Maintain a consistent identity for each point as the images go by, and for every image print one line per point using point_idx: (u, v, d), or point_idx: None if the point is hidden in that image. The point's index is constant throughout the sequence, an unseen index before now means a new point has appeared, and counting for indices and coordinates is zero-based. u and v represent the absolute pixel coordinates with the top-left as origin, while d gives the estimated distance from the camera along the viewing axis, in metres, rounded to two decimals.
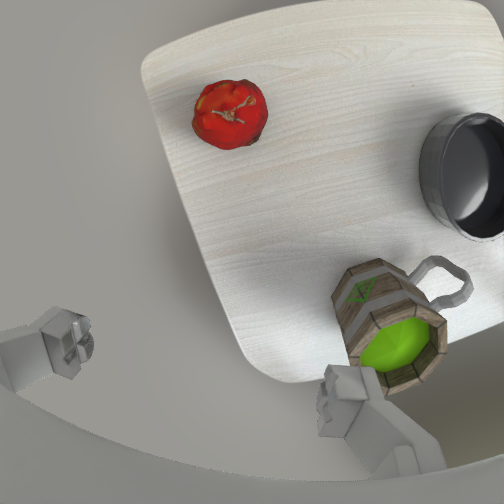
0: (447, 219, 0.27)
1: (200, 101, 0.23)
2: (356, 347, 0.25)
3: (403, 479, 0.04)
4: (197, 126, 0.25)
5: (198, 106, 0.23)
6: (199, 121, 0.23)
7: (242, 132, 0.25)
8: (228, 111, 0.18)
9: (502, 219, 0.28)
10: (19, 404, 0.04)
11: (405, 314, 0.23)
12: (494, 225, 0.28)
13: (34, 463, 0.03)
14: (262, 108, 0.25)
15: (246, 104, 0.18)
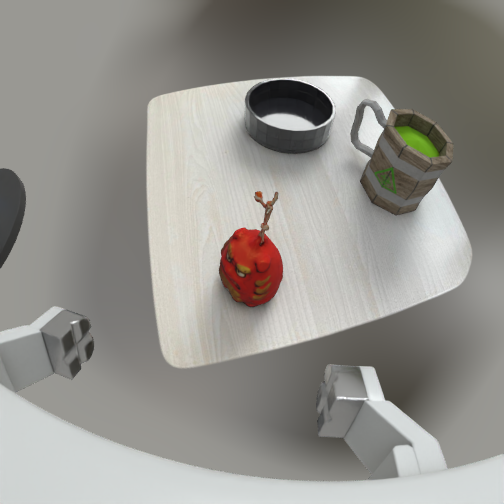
0: (324, 127, 0.42)
1: (242, 268, 0.29)
2: (424, 158, 0.31)
3: (403, 479, 0.04)
4: (263, 280, 0.30)
5: (247, 269, 0.29)
6: (262, 267, 0.29)
7: None
8: (268, 203, 0.25)
9: (316, 96, 0.48)
10: (19, 404, 0.04)
11: (393, 130, 0.33)
12: (321, 102, 0.48)
13: (34, 463, 0.03)
14: None
15: (261, 198, 0.26)
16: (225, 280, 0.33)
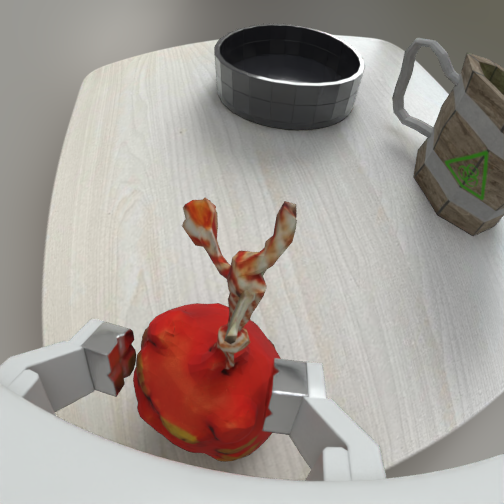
0: (351, 84, 0.22)
1: (175, 431, 0.08)
2: None
3: (403, 479, 0.04)
4: (238, 447, 0.09)
5: (188, 437, 0.08)
6: (230, 438, 0.08)
7: (264, 344, 0.11)
8: (241, 266, 0.04)
9: (328, 49, 0.28)
10: (19, 404, 0.04)
11: (488, 82, 0.12)
12: (337, 56, 0.28)
13: (34, 463, 0.03)
14: None
15: (213, 230, 0.06)
16: None
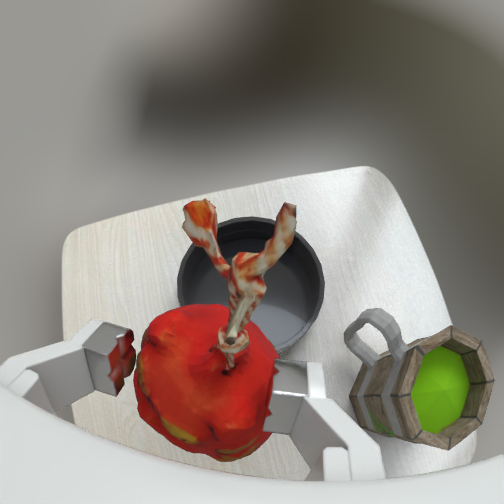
0: (302, 335, 0.28)
1: (175, 431, 0.08)
2: (439, 446, 0.16)
3: (403, 479, 0.04)
4: (238, 448, 0.09)
5: (188, 438, 0.08)
6: (231, 439, 0.08)
7: (264, 345, 0.11)
8: (241, 267, 0.04)
9: (295, 246, 0.34)
10: (19, 404, 0.04)
11: (408, 406, 0.18)
12: (304, 257, 0.33)
13: (34, 463, 0.03)
14: None
15: (213, 231, 0.06)
16: None
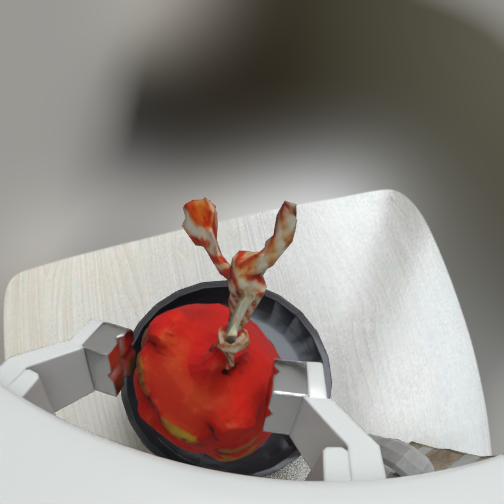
0: None
1: (175, 431, 0.08)
2: None
3: (403, 479, 0.04)
4: (238, 447, 0.09)
5: (188, 437, 0.08)
6: (231, 438, 0.08)
7: (264, 344, 0.11)
8: (241, 267, 0.04)
9: (292, 321, 0.23)
10: (19, 404, 0.04)
11: None
12: (303, 337, 0.22)
13: (34, 463, 0.03)
14: None
15: (213, 230, 0.06)
16: None
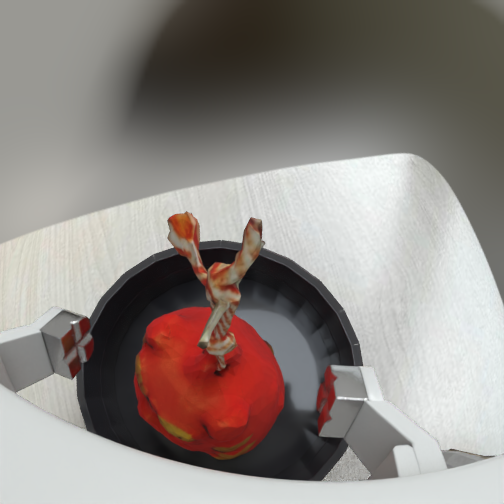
0: None
1: (171, 429, 0.09)
2: None
3: (403, 479, 0.04)
4: (233, 446, 0.10)
5: (183, 435, 0.09)
6: (223, 437, 0.08)
7: (258, 346, 0.11)
8: (214, 277, 0.05)
9: (307, 298, 0.17)
10: (19, 404, 0.04)
11: None
12: (322, 319, 0.17)
13: (34, 463, 0.03)
14: None
15: (195, 241, 0.06)
16: None
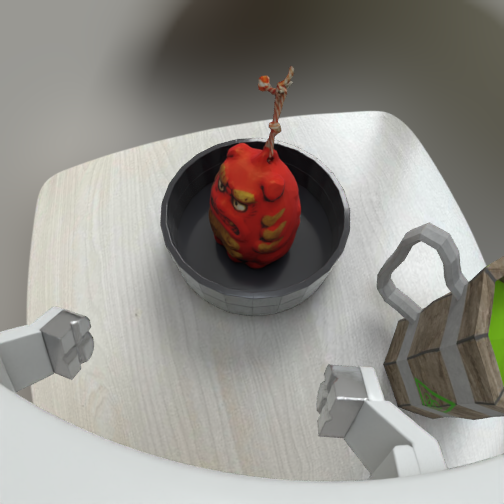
0: (325, 274, 0.21)
1: (242, 194, 0.19)
2: None
3: (403, 479, 0.04)
4: (274, 216, 0.19)
5: (249, 196, 0.18)
6: (272, 191, 0.18)
7: None
8: (280, 82, 0.15)
9: (310, 174, 0.27)
10: (19, 404, 0.04)
11: (487, 352, 0.11)
12: (320, 187, 0.26)
13: (34, 463, 0.03)
14: None
15: (269, 84, 0.16)
16: (217, 225, 0.22)
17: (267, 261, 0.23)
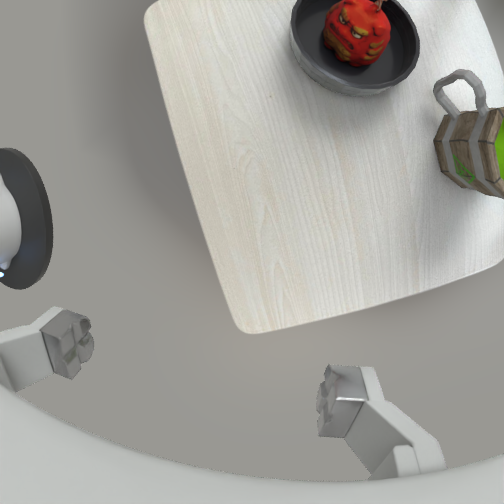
0: None
1: (360, 30, 0.21)
2: None
3: (403, 479, 0.04)
4: (377, 43, 0.22)
5: (365, 32, 0.21)
6: (379, 32, 0.21)
7: None
8: None
9: (390, 8, 0.24)
10: (19, 404, 0.04)
11: (492, 152, 0.20)
12: (397, 18, 0.24)
13: (34, 463, 0.03)
14: None
15: None
16: (334, 40, 0.25)
17: (365, 64, 0.27)
